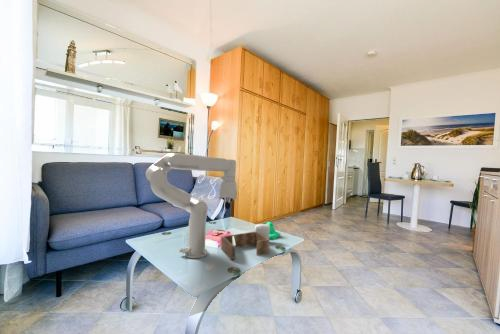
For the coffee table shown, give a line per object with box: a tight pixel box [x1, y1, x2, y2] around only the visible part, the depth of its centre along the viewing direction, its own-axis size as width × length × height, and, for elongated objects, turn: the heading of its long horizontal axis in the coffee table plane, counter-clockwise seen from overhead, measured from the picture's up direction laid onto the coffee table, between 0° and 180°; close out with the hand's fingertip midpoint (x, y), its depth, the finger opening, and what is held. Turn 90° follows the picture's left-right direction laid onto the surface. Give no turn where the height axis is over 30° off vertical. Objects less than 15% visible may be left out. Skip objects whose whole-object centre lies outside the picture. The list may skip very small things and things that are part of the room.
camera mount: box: [265, 221, 282, 240], centre depth 156 cm, size 12×8×10 cm, turn 125°
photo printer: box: [254, 223, 270, 240], centre depth 145 cm, size 10×4×12 cm, turn 98°
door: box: [232, 236, 237, 260], centre depth 126 cm, size 15×2×8 cm, turn 9°
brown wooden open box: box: [220, 230, 270, 261], centre depth 130 cm, size 24×16×8 cm, turn 119°
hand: (227, 208), depth 135 cm, fingers closed
